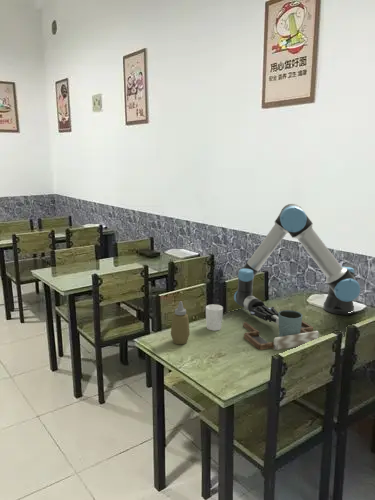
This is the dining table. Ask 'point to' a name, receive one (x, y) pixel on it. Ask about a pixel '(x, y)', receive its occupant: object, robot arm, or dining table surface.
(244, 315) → the dining table surface
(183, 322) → the squeeze bottle
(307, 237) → the robot arm
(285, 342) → the brown walled tray frame
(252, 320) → the dining table surface
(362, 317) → the dining table surface
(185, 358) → the dining table surface
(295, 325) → the blue-grey cup
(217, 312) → the white cup
